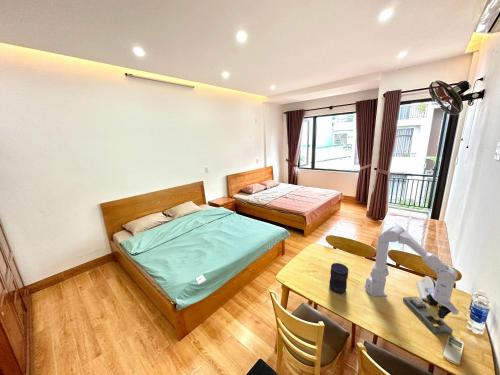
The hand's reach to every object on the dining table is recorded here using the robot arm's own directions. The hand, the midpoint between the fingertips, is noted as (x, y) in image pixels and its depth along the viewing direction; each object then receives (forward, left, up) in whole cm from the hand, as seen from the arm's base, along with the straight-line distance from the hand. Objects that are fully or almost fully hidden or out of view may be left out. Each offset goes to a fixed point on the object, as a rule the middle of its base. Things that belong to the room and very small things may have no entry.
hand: (436, 313), depth 97 cm
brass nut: (0, 0, -2) cm, 2 cm away
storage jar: (-37, +27, -7) cm, 46 cm away
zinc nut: (0, +10, -7) cm, 12 cm away
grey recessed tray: (0, +5, -7) cm, 9 cm away
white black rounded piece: (+14, +20, -7) cm, 25 cm away
